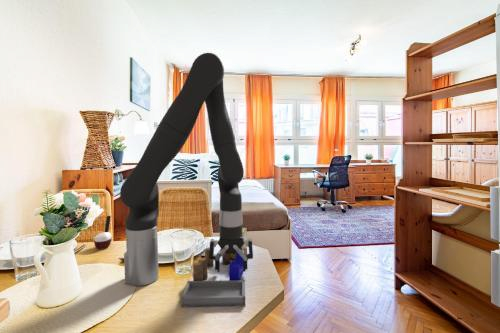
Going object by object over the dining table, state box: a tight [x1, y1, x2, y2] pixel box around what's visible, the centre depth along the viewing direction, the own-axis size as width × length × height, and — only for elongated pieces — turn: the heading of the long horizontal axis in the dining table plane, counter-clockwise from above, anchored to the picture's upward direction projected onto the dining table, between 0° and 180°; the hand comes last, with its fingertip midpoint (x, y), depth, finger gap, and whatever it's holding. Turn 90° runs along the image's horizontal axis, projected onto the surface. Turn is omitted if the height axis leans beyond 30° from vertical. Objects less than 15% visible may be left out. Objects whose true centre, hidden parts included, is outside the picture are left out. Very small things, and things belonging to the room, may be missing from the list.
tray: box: [180, 279, 246, 308], centre depth 77 cm, size 17×9×2 cm, turn 92°
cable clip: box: [228, 251, 245, 280], centre depth 90 cm, size 12×4×6 cm, turn 171°
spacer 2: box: [197, 257, 209, 281], centre depth 88 cm, size 3×3×6 cm
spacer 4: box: [221, 253, 232, 266], centre depth 98 cm, size 3×3×6 cm
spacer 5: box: [242, 246, 248, 254], centre depth 98 cm, size 3×3×6 cm
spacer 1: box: [192, 261, 204, 281], centre depth 85 cm, size 3×3×6 cm
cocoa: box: [93, 215, 112, 250], centre depth 113 cm, size 10×6×12 cm, turn 152°
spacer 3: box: [204, 247, 215, 268], centre depth 97 cm, size 3×3×6 cm
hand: (231, 270), depth 90 cm, fingers open, 8 cm apart
